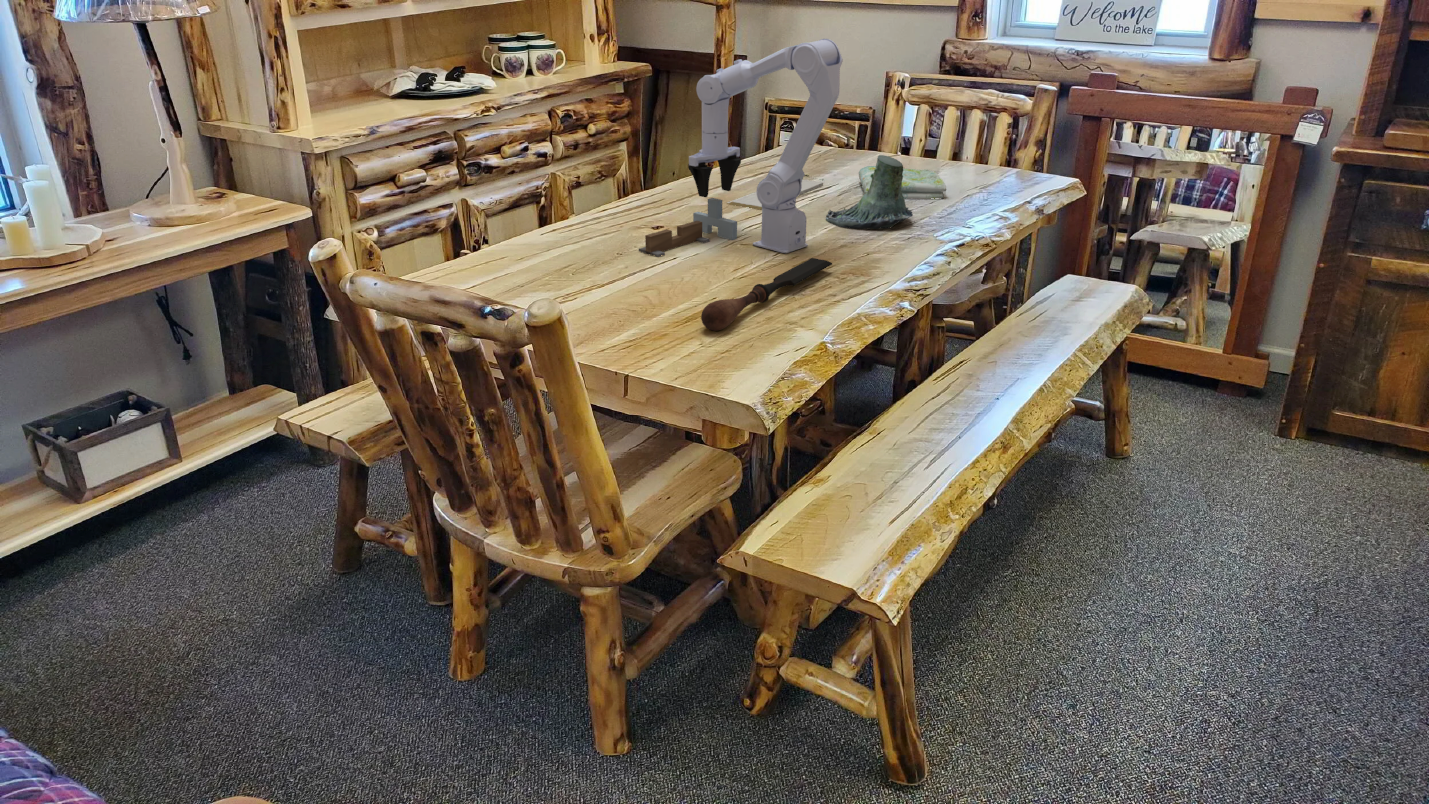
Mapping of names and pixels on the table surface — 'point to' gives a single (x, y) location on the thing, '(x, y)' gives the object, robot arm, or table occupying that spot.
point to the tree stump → (877, 200)
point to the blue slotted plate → (716, 220)
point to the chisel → (757, 294)
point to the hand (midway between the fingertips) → (714, 193)
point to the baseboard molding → (754, 203)
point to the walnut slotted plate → (673, 238)
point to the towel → (911, 183)
